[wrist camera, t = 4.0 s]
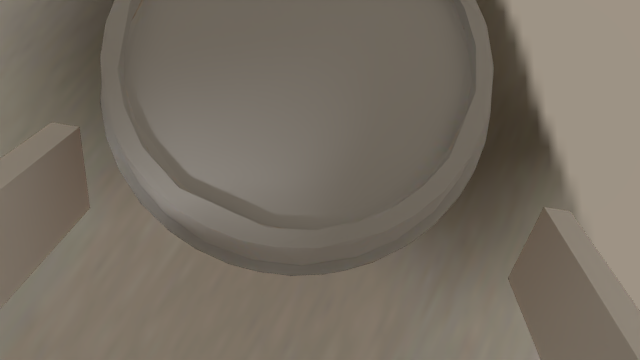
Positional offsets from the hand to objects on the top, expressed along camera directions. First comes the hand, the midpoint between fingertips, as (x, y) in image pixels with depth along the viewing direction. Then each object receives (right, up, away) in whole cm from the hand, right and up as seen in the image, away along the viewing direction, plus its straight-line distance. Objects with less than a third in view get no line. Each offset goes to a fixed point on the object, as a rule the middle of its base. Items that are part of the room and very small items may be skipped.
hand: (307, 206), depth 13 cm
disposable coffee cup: (-1, +1, +9) cm, 9 cm away
